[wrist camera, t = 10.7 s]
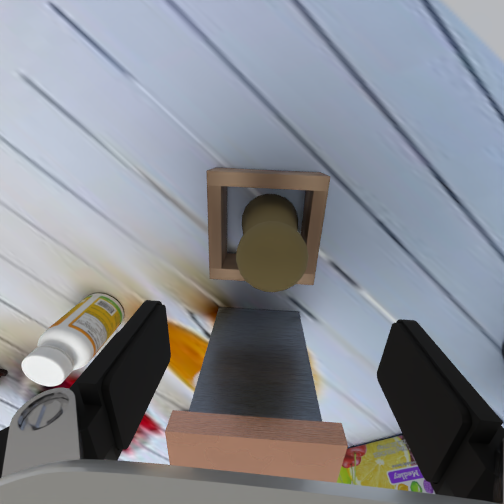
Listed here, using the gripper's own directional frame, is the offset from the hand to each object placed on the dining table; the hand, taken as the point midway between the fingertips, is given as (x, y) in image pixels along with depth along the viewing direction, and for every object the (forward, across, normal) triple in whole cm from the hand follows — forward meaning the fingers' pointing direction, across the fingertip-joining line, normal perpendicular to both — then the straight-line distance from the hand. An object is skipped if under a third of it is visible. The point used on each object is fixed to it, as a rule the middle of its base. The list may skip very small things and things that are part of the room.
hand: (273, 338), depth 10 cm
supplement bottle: (+18, +21, +13) cm, 30 cm away
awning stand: (+18, +1, +10) cm, 20 cm away
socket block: (+18, +1, 0) cm, 18 cm away
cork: (+18, 0, 0) cm, 18 cm away
